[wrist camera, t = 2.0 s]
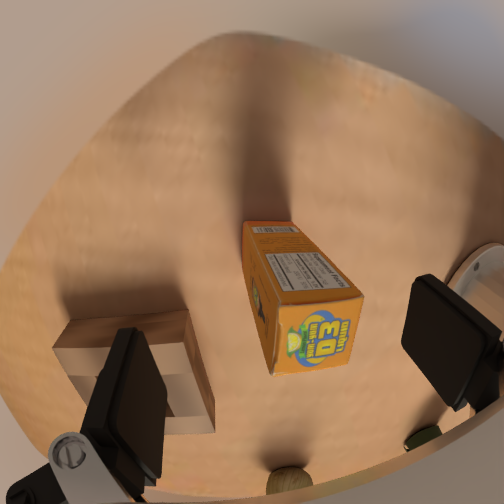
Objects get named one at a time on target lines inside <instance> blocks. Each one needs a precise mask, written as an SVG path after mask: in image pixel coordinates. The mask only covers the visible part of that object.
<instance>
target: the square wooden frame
mask: <svg viewBox="0 0 504 504" xmlns="http://www.w3.org/2000/svg"><path fill="white" fill-rule="evenodd" d="M127 327H136V328H137V329H138V331H143V333H144V335H145V337H146V340H147V342H148V345H149V348H150V350H151V352H152V355H153V357H154V360H155V362H156V365H157V367H158V369H159V372H160V374H161V376H162V378H163V381H164V383H165V385H166V388H167V394H168V397H167V407H166V417H165V429H164V435H184V434H206V433H215V399H214V396H213V393H212V390H211V387H210V384H209V381H208V377H207V374H206V371H205V367H204V364H203V361H202V357H201V354H200V350H199V347H198V343H197V340H196V336H195V332H194V329H193V325H192V321H191V317H190V314H189V310H180V311H171V312H162V313H152V314H142V315H131V316H120V317H108V318H95V319H80V320H70V322H69V323H68V325H67V326H66V328H65V329H64V330H63V332H62V333H61V335H60V336H59V338H58V339H57V341H56V342H55V344H54V346H53V347H52V349H53V351H54V353H55V355H56V357H57V359H58V360H59V362H60V364H61V366H62V367H63V369H64V371H65V372H66V374H67V376H68V377H69V379H70V381H71V382H72V384H73V385H74V387H75V389H76V390H77V392H78V393H79V395H80V396H81V398H82V399H83V401H84V402H85V404H86V405H87V406H88V404H89V401H90V398H91V395H92V392H93V389H94V387H95V384H96V381H97V378H98V375H99V373H100V371H101V370H102V369H103V367H104V364H105V362H106V359H107V356H108V354H109V351H110V349H111V346H112V343H113V341H114V338H115V336H116V333H117V331H118V329H119V328H127Z"/></svg>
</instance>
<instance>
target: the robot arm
mask: <svg viewBox="0 0 504 504" xmlns="http://www.w3.org/2000/svg"><path fill="white" fill-rule="evenodd" d="M401 344H402V347H403V349H404V350H405V351H406V352H407V354H408V355H409V356H410V357H411V359H412V360H413V361H414V362H415V364H416V365H417V366H418V368H419V369H420V370H421V371H422V373H423V374H424V375H425V377H426V378H427V379H428V381H429V382H430V383H431V384H432V386H433V387H434V388H435V390H436V391H437V392H438V394H439V395H440V396H441V398H442V399H443V400H444V402H445V403H446V404H447V405H448V406H449V407H452V408H453V410H454V411H455V412H457V411H458V410H460V409H462V408H463V407H465V406H466V405H467V403H469V404H470V417H469V419H468V420H466V421H465V422H463V423H461V424H460V425H458V426H456V427H455V428H453V429H451V430H450V431H448V432H446V433H444V434H442V435H441V436H439V437H437V438H435V439H433V440H431V441H429V442H427V443H425V444H423V445H421V446H419V447H417V448H415V449H413V450H411V451H409V452H407V453H405V454H402V455H400V456H398V457H396V458H393V459H391V460H388V461H386V462H384V463H381V464H379V465H376V466H373V467H371V468H368V469H365V470H363V471H360V472H357V473H354V474H351V475H348V476H345V477H341V478H338V479H335V480H331V481H328V482H324V483H321V484H317V485H313V486H309V487H305V488H301V489H296V490H292V491H287V492H282V493H277V494H271V495H265V496H258V497H251V498H243V499H235V500H223V501H212V502H193V503H150V502H149V501H148V500H147V499H146V498H145V497H144V495H143V493H144V486H156V478H158V479H159V478H161V474H162V456H163V442H164V429H165V417H166V407H167V397H168V394H167V388H166V385H165V383H164V381H163V378H162V376H161V374H160V372H159V369H158V367H157V365H156V362H155V360H154V357H153V355H152V352H151V350H150V348H149V345H148V342H147V340H146V337H145V335H144V333H143V331H138V329H137V328H136V327H127V328H119V329H118V331H117V333H116V336H115V338H114V341H113V343H112V346H111V349H110V351H109V354H108V356H107V359H106V362H105V364H104V367H103V369H102V370H101V371H100V373H99V375H98V378H97V381H96V384H95V387H94V389H93V392H92V395H91V398H90V401H89V404H88V407H87V410H86V414H85V417H84V420H83V423H82V427H81V430H80V433H77V432H67V433H64V434H61V435H60V436H58V437H57V438H56V439H55V440H54V441H53V442H52V443H51V445H50V448H49V450H48V459H49V463H47V464H46V465H44V466H42V467H41V468H39V469H38V470H36V471H34V472H33V473H31V474H30V475H28V476H26V477H24V478H23V479H21V480H19V481H17V482H16V483H14V484H13V485H12V486H11V487H10V488H9V490H8V492H7V495H6V504H504V245H502V244H500V243H489V244H486V245H484V246H482V247H480V248H479V249H477V250H476V251H475V252H474V253H472V254H471V255H470V256H469V257H468V258H467V259H466V260H465V261H464V262H463V263H462V265H461V266H460V267H459V269H458V270H457V271H456V272H455V274H454V276H453V277H452V279H451V280H450V282H449V283H448V285H445V284H444V283H443V282H441V281H440V280H439V279H437V278H436V277H435V276H434V275H432V274H426V275H422V276H418V277H417V278H416V279H415V281H414V282H413V284H412V287H411V293H410V299H409V305H408V310H407V315H406V320H405V325H404V329H403V334H402V338H401Z"/></svg>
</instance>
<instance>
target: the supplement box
mask: <svg viewBox="0 0 504 504" xmlns="http://www.w3.org/2000/svg"><path fill="white" fill-rule="evenodd" d="M242 269H243V274H244V279H245V283H246V287H247V291H248V296H249V300H250V304H251V308H252V312H253V315H254V319H255V323H256V327H257V331H258V335H259V338H260V342H261V346H262V349H263V353H264V357H265V360H266V364H267V367H268V370H269V373H270V375H271V376H272V377H276V376H282V375H287V374H293V373H301V372H309V371H315V370H321V369H327V368H332V367H337V366H341V365H346V364H348V361H349V358H350V354H351V351H352V346H353V342H354V338H355V334H356V330H357V326H358V322H359V318H360V313H361V309H362V305H363V300H364V295H363V294H362V293H361V291H360V290H359V289H358V288H357V287H356V286H355V285H354V284H353V283H352V282H351V281H350V280H349V279H348V278H347V277H346V276H345V275H344V274H343V273H342V272H341V271H340V270H339V269H338V268H337V267H336V265H335V264H334V263H333V262H332V261H331V260H330V259H329V258H328V257H327V256H326V255H325V254H324V253H323V252H322V251H321V250H320V249H319V248H318V247H317V246H316V245H315V244H314V243H313V242H312V241H311V240H310V239H309V238H308V237H307V236H306V235H305V234H304V233H303V232H302V231H301V230H300V229H299V228H298V227H297V226H296V225H295V224H294V223H293V222H290V221H287V222H284V221H245V222H244V223H243V237H242Z"/></svg>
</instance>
